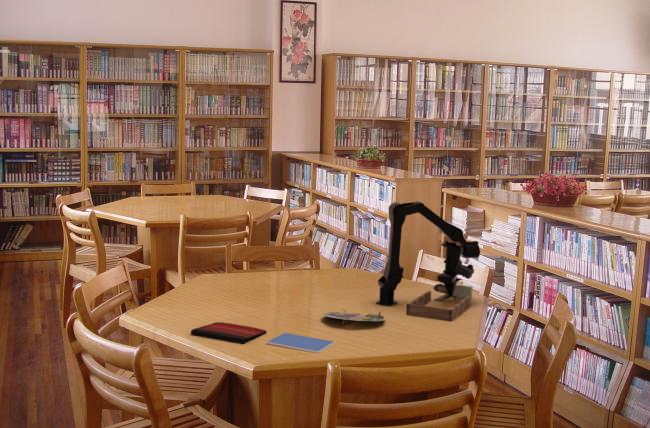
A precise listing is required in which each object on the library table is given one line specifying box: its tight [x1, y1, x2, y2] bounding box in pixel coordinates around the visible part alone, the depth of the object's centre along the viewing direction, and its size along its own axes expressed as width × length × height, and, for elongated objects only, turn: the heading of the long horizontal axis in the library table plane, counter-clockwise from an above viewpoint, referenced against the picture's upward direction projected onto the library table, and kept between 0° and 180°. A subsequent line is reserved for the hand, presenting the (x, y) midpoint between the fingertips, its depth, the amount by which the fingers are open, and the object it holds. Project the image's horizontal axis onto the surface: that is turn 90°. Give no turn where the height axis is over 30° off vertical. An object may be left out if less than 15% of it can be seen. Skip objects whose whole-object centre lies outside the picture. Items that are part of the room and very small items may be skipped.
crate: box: [405, 290, 472, 322], centre depth 299 cm, size 25×17×4 cm
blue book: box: [266, 332, 336, 354], centre depth 253 cm, size 19×13×1 cm, turn 64°
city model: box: [322, 308, 386, 328], centre depth 282 cm, size 25×23×6 cm
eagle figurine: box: [433, 283, 458, 302], centre depth 315 cm, size 8×7×9 cm
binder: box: [190, 321, 267, 345], centre depth 263 cm, size 16×2×21 cm
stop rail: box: [455, 283, 474, 300], centre depth 321 cm, size 2×10×5 cm, turn 64°
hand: (450, 296), depth 312 cm, fingers closed
